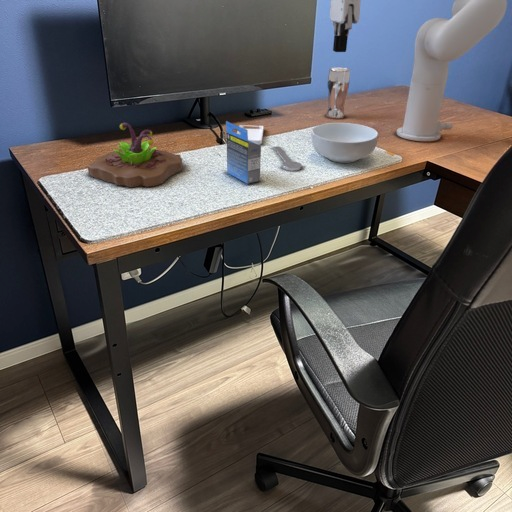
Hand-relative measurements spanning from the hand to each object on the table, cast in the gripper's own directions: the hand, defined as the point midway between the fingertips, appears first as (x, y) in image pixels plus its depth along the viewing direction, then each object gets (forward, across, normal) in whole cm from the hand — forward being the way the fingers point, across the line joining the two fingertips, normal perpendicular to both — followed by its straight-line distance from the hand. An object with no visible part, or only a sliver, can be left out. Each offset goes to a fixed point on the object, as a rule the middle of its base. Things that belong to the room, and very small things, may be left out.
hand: (339, 51), depth 132 cm
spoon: (+23, -19, +19) cm, 35 cm away
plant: (+23, -21, +56) cm, 64 cm away
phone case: (+23, +2, +24) cm, 34 cm away
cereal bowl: (+23, -20, +4) cm, 31 cm away
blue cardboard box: (+23, -29, +32) cm, 49 cm away
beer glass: (+23, +21, -9) cm, 33 cm away
